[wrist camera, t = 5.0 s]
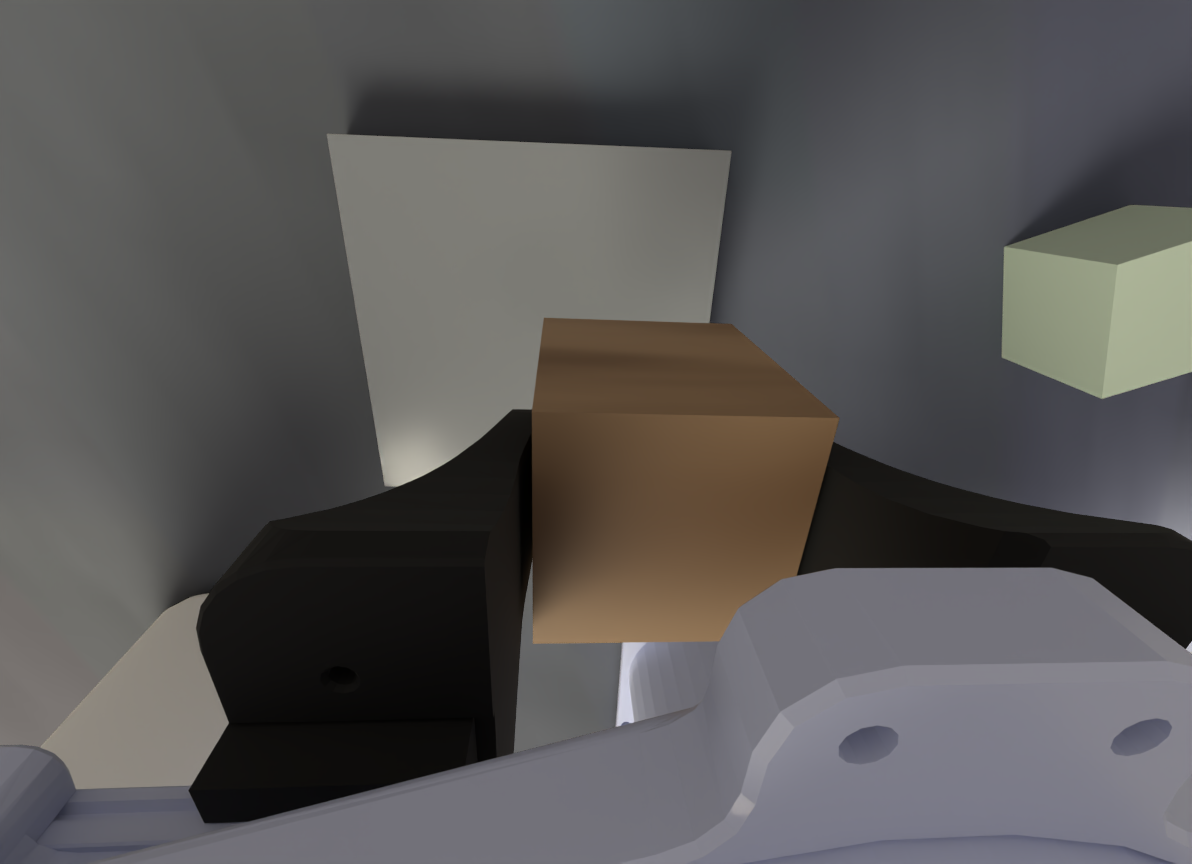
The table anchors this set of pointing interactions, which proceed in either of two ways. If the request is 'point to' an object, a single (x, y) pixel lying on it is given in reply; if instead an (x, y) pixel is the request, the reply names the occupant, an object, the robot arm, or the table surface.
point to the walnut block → (665, 479)
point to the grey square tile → (507, 267)
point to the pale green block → (1103, 300)
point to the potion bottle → (146, 712)
